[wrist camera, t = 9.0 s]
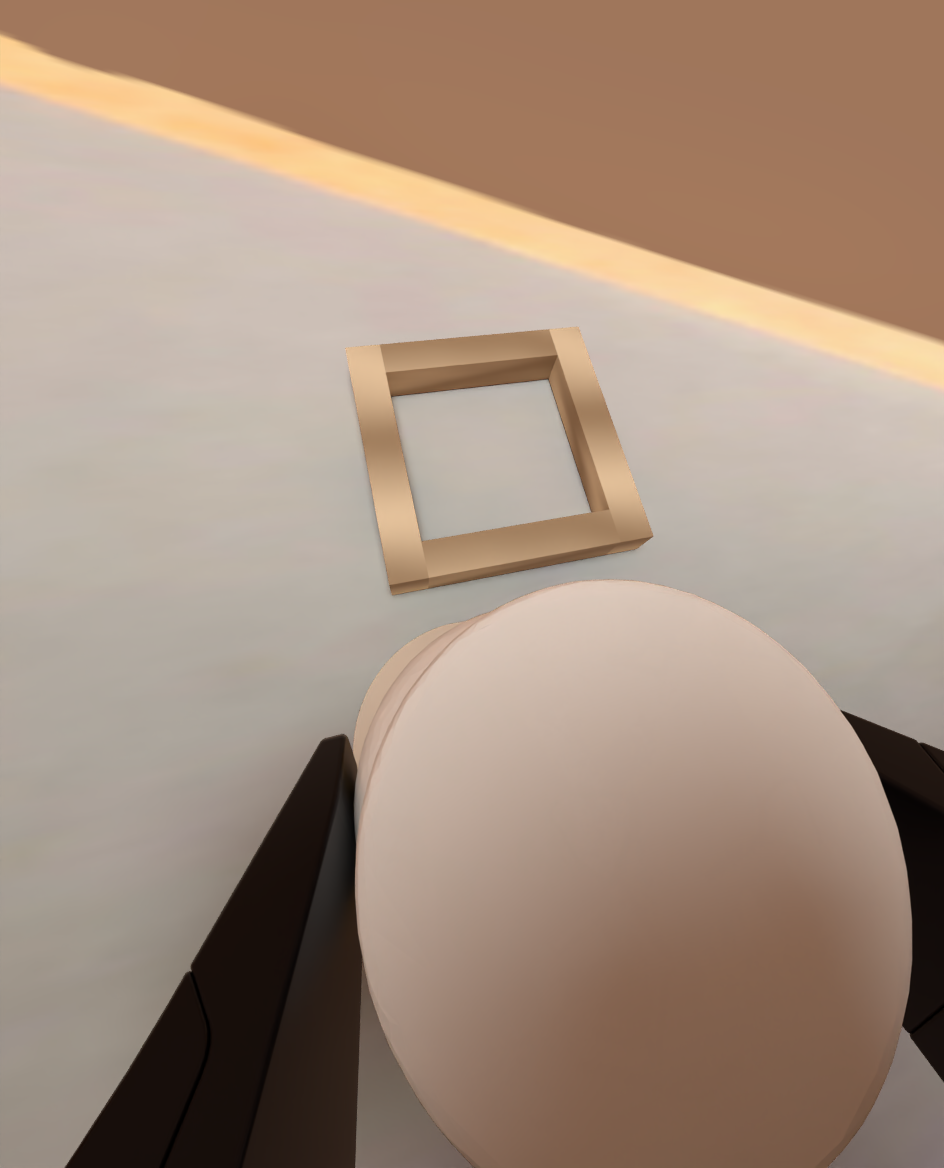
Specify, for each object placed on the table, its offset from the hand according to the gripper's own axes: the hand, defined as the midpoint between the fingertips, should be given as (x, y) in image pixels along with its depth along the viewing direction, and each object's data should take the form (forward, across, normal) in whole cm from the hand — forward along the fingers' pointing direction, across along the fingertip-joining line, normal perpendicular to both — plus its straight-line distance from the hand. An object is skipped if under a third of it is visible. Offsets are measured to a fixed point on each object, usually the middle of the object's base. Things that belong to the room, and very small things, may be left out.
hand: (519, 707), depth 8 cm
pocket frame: (+14, -3, -2) cm, 14 cm away
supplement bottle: (+4, 0, +6) cm, 7 cm away
